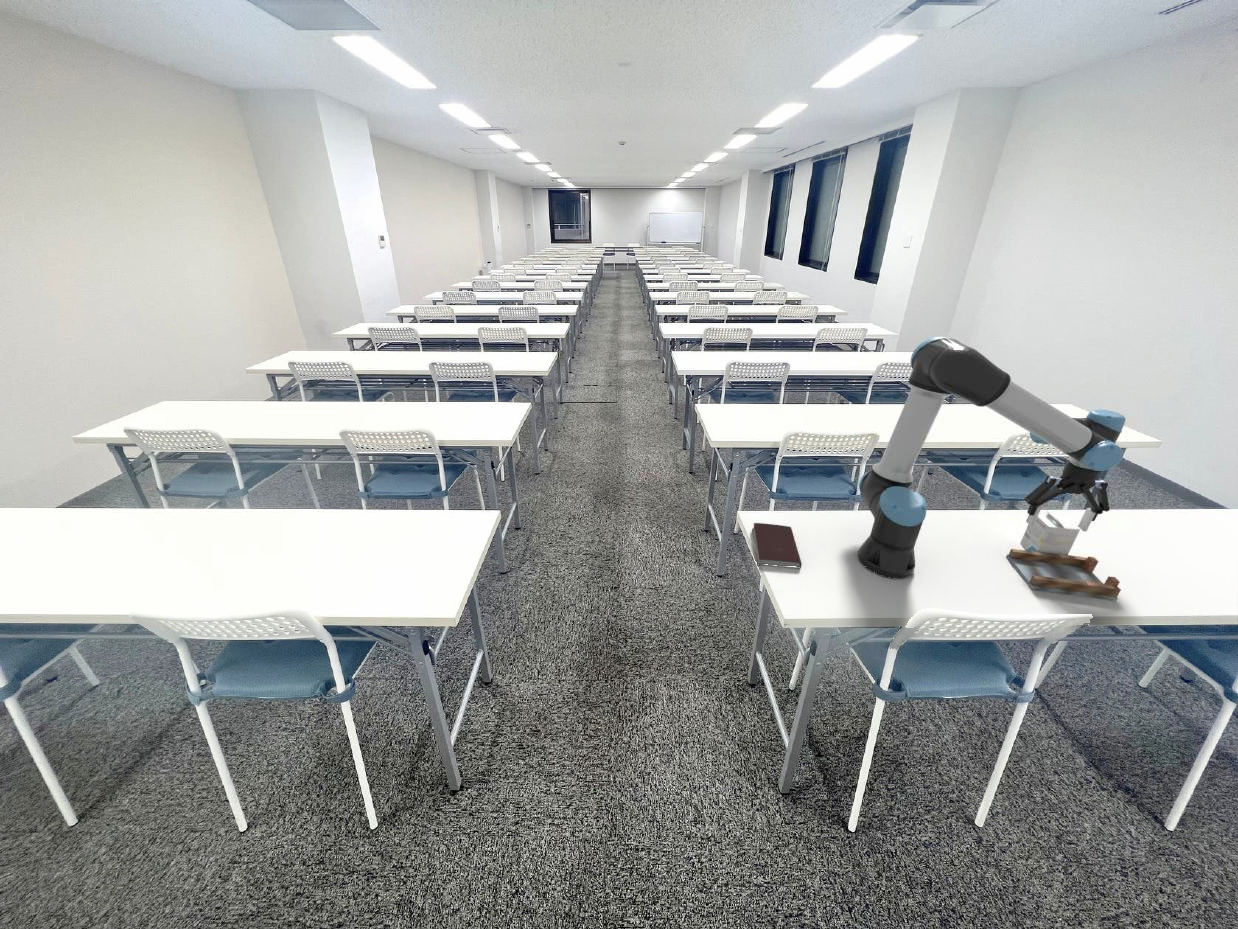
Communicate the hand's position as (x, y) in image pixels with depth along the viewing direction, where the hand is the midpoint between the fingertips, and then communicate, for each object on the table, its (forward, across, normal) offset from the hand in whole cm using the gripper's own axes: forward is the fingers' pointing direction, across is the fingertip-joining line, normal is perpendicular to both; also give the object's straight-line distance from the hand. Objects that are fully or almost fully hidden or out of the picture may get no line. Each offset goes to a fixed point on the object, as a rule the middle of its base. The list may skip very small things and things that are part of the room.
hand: (1055, 526), depth 144 cm
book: (+9, -82, -17) cm, 84 cm away
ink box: (+10, 0, 0) cm, 10 cm away
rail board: (+10, -2, -13) cm, 16 cm away
